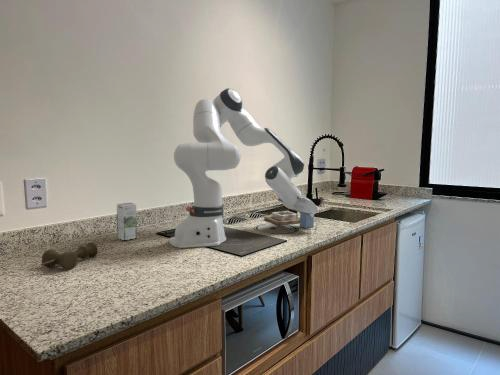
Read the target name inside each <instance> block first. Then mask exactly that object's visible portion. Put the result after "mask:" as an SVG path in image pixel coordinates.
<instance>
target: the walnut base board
mask: <svg viewBox="0 0 500 375" xmlns="http://www.w3.org/2000/svg"><path fill="white" fill-rule="evenodd" d="M263 217H264V218H263V220H264V221H266V222H269V223H271V224H274V225H277V226H287V225H296V224H300V216H299V213H298V214H296V213H292V212H289V210H286V211H276V212H275V211H273V212H271V216H263Z"/></svg>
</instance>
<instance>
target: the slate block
mask: <svg viewBox="0 0 500 375" xmlns="http://www.w3.org/2000/svg"><path fill="white" fill-rule="evenodd" d="M299 218H300V223H299V227H300V228H305V229H310V228H314V226H315V225H314V224H315V222H314V220H315V216H314V217H313V218H312V217H310V216H309V214H308V213H305V212H301V211H300V213H299Z"/></svg>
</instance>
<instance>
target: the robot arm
mask: <svg viewBox="0 0 500 375" xmlns="http://www.w3.org/2000/svg"><path fill="white" fill-rule="evenodd" d="M192 117H193V119H192V124H193V126H192V127H193V129H192V130H193V131H192V134H193V137H194V138H195V140H196V142H195V141H192V142H186V143H181V144H179V145H177V147H176V148H175V150H174V153H173V161H174V163H175V165H176V167H178V168H179V169H180V170H181V171H182V172H184V173H185V175H186V176H187V177H188V179H189V180H190V183H191V186H192V191H193V206H189V205H187V206H186V207H185V211H186V212H188V213H189V215H188V216H187V217H186V218H184V219H183V220H182V221H180V223H178V224H177V226H176V227H175V231H174V236H173V237H170V238H169V239H168V242H169V244H170V245H171V246H172V247H175V248H179V249H186V248H200V247H214V246H215V247H216V246H220V245H221V244H222V243H224V242H226V240H227V237H226V233H225V227H224V205H223V188H222V185H221V183H219V181H217V180H215V179H212V178H211V177H210V176H209V177H208V175H207V174H206V172H207V171H227V170H232V169H235V168H237V167H238V165H239V164H240V162H241V156H242V155H241V152H240V149H239V147H238V146H237V145H236V144H235V143H233V142H231V141H229V140H228V139H227V138H226V137H225V136H224V135H223V134H222V130H221V127H222V126H223V125H224V124H225V123H226V122H227V123H229V126H230V127H231V130H232V131H233V134H235V136H236V137H237V139H238V141H240V143H241V144H242V145H244V146H247V147H256V146H260V145H264V144H268V143H269V144H272V145H273V146H274V147H275V148H277V150H278V151H279V152H280V153H281V154H282V155H283V156H284V157H283V158H282V159H281V160H279V161H277V162H276V163H275V164H273V165H272V166H270V167H268V169H267V170H266V171H265V174H264V179H265V182H266V183H267V185H268V186H269V187H270V189H272V190H273V191H274V192H275V193H276V194H277V195H278V196H277V197H276V199H277V201H278V202H280V203H281V204H282V205H283V206H284V207H286V208H287V209H288V208H289V209H293V210H296V211H297V213H298V214H300V211H301V212H305V213H308V214H309V216H310V217H312V218H313V217H314V218H315V214H316V213H317V212H318V207H317V205H316V204H315V203H314V202H313V201H312V200H311V199H309V198H308V197H303V195H302V191H301V190H300V188H298V186H297V185H296V184H295V183H293V181H292V179H293V178H295V176H298V175H299V174H301V173H302V172H303V171H304V169H305V162H304V161H303V158H302V157H300V155H298V154H297V153H295V152H294V151H293V150H292V149H291V148H290V147H289V146H288V145H287V144H286V143H285V142H284V141H283V140H282V139H281V138H280V137H279V136H278V135H277V134H276V133H275V132H274V131H272V130H271V129H270V128H268V127H264V128H263V127H261V126H260V125H259V124H258V123H257V122H256V121H255V119H254V118H253V116H252V115H251V114H250V113H249V112H248V111H247V110H246V109H244V106H243V100H242V97H241V95H240V94H239V93H238V92H237V90H234V89H233V88H225V89H224V90H222V91H220V93H219V94H218V95H217V96H216V97H215V98H214V99H213V100H212V99H208V98H203V99H200V100H198V101H197V102H196V105H195V106H194V110H193V116H192Z"/></svg>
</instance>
